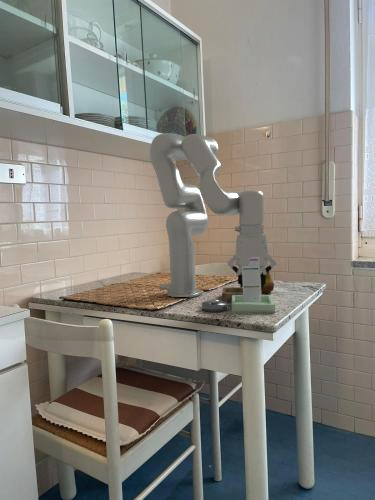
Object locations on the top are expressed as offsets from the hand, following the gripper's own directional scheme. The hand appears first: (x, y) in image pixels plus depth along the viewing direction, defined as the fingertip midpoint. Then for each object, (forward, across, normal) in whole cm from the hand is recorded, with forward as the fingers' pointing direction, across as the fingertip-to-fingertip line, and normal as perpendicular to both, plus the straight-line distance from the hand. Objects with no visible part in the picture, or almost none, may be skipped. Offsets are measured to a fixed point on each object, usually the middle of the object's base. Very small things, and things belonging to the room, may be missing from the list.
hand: (251, 286), depth 121 cm
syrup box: (+5, 0, 0) cm, 5 cm away
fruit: (+7, +6, +22) cm, 24 cm away
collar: (+7, -5, +12) cm, 15 cm away
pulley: (+7, -12, -3) cm, 14 cm away
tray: (+7, 0, 0) cm, 7 cm away
